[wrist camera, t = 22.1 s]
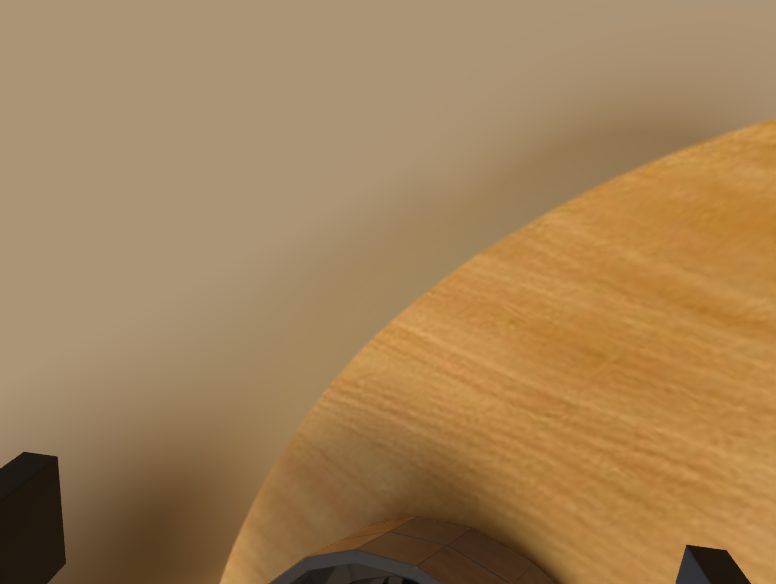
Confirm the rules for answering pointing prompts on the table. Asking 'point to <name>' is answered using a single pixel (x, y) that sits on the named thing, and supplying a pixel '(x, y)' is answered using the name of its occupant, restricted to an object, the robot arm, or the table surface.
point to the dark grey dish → (415, 558)
